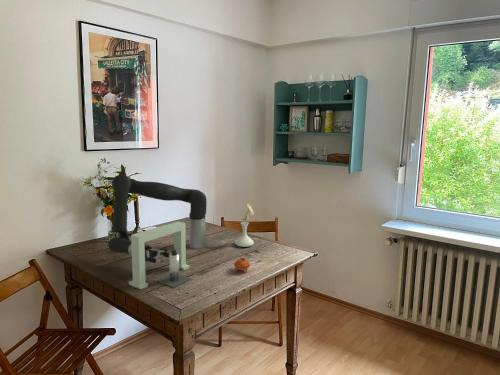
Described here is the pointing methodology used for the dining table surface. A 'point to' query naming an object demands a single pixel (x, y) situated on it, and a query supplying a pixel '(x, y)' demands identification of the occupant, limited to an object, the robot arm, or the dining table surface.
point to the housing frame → (151, 234)
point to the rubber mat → (174, 283)
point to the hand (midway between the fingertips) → (162, 258)
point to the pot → (242, 264)
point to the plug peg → (174, 265)
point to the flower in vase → (244, 239)
